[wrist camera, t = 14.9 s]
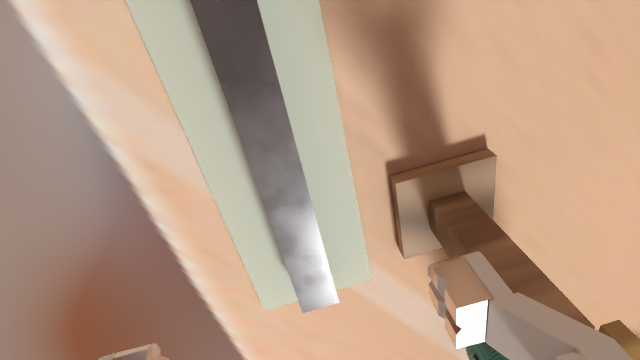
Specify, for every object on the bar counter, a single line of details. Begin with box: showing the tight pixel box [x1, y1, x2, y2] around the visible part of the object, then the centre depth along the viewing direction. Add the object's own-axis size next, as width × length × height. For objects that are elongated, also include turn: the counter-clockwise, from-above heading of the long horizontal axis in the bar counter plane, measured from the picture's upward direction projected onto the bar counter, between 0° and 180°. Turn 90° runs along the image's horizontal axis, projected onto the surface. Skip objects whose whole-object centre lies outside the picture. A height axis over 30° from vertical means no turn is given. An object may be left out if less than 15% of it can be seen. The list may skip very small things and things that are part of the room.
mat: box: [125, 0, 372, 311], centre depth 24 cm, size 34×10×1 cm, turn 12°
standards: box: [390, 149, 640, 360], centre depth 18 cm, size 30×8×16 cm, turn 12°
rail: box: [190, 0, 339, 313], centre depth 23 cm, size 30×3×3 cm, turn 12°
